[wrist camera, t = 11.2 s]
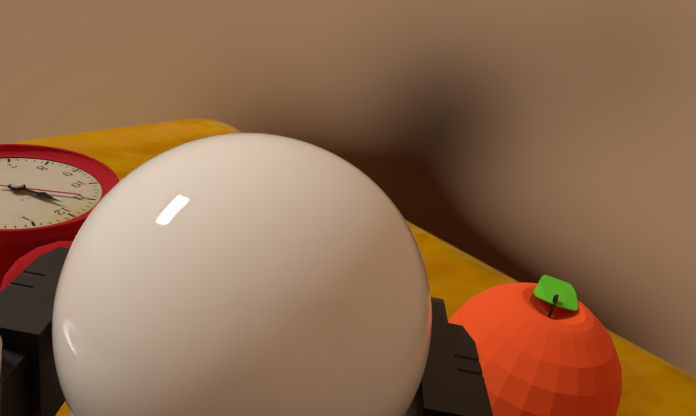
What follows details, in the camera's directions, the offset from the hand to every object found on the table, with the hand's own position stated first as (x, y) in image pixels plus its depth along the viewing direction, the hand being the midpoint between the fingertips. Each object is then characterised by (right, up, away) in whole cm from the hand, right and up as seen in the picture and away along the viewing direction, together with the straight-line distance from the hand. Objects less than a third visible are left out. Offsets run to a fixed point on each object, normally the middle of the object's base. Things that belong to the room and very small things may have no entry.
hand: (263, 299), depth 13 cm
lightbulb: (-1, -7, +1) cm, 7 cm away
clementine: (+8, -7, +12) cm, 16 cm away
